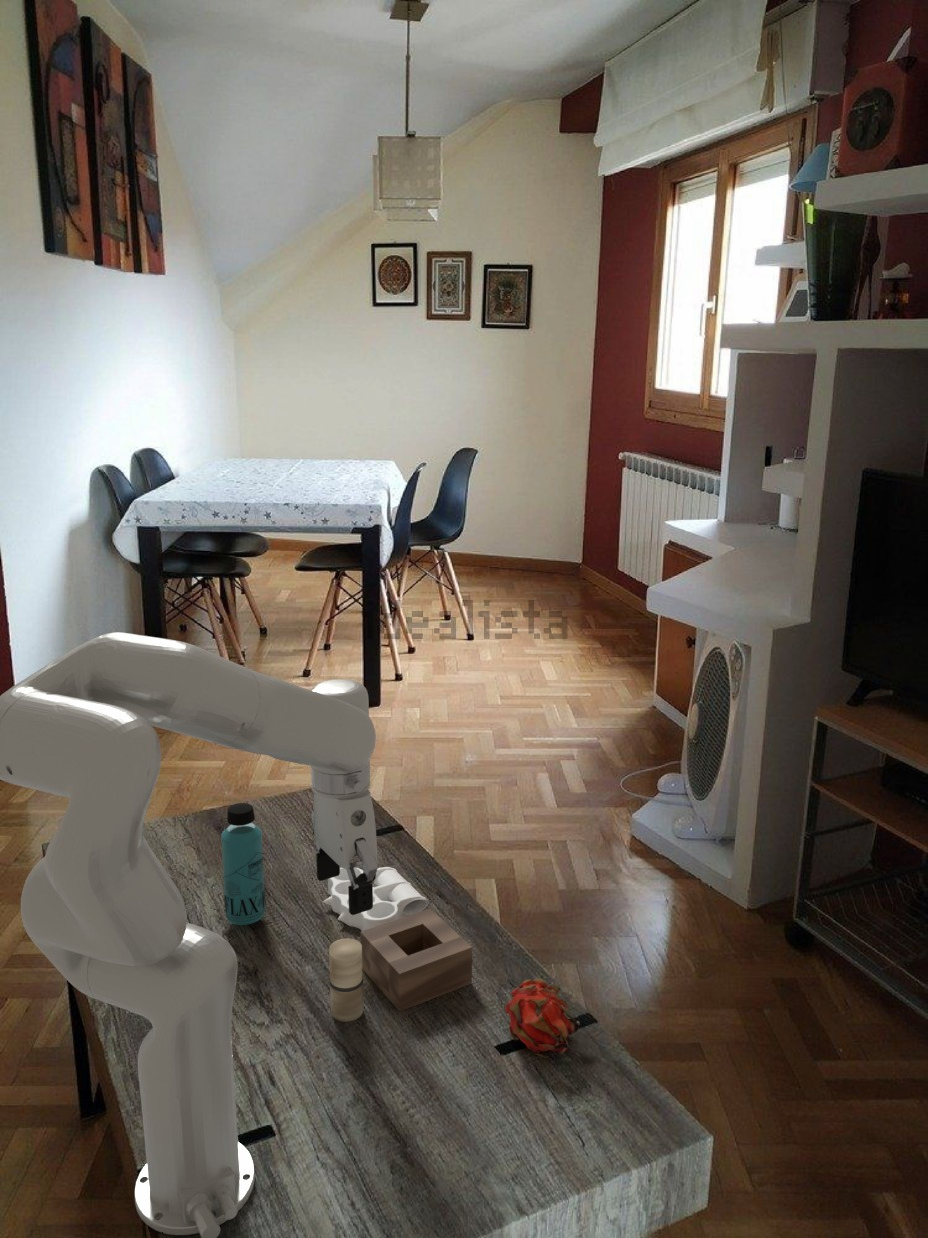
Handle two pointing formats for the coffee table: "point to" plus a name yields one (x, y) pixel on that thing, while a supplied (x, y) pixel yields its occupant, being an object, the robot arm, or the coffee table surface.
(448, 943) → the socket block
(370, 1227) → the coffee table surface
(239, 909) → the beverage bottle
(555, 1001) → the dragon fruit
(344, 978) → the peg
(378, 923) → the knuckle duster
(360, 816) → the robot arm
